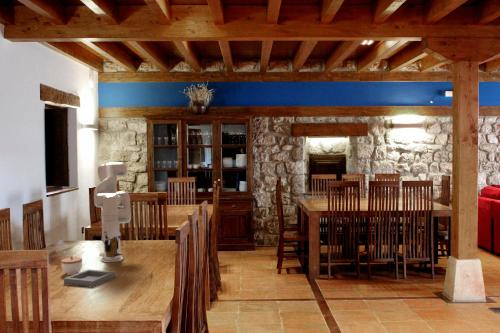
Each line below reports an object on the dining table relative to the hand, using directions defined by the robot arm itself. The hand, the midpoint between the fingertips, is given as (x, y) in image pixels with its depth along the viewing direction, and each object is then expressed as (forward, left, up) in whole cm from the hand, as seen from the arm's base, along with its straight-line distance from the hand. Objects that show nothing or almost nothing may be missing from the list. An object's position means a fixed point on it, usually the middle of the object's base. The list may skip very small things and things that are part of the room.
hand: (111, 249), depth 260 cm
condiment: (0, +1, -3) cm, 4 cm away
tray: (0, -19, -12) cm, 22 cm away
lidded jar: (-20, -10, -12) cm, 25 cm away
